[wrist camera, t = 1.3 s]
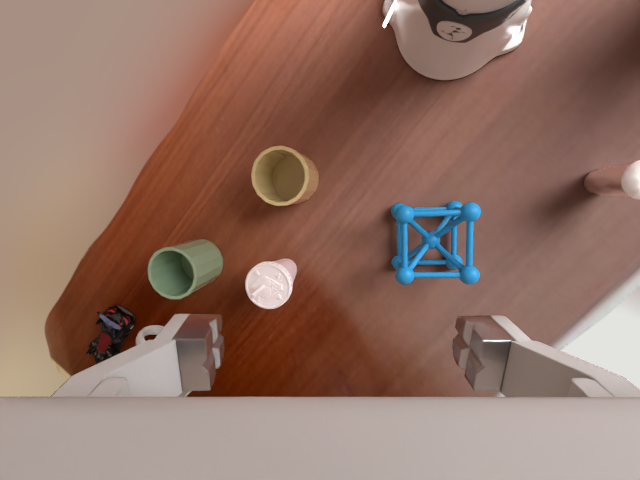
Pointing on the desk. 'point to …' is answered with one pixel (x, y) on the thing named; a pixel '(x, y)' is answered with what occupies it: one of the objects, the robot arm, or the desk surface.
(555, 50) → the desk surface
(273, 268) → the smoothie
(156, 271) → the sage cup
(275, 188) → the tan cup
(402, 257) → the molecular structure
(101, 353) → the toy car
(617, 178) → the milkshake
